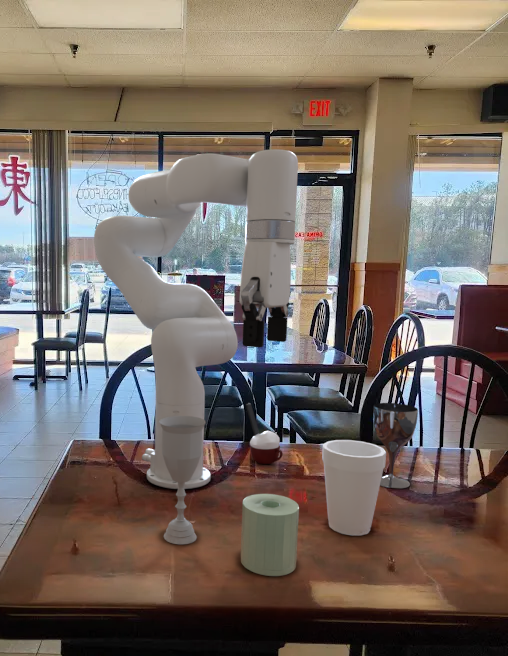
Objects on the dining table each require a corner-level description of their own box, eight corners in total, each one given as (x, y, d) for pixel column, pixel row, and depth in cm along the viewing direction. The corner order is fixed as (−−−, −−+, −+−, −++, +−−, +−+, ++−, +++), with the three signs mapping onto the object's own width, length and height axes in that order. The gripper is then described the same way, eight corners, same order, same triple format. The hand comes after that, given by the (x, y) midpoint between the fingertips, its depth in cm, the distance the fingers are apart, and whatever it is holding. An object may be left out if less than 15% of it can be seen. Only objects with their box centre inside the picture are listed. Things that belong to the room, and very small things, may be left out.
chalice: (188, 552, 82) (190, 430, 80) (148, 540, 86) (150, 423, 84) (210, 533, 88) (214, 419, 86) (173, 522, 92) (175, 413, 90)
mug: (297, 579, 75) (300, 517, 74) (239, 572, 77) (241, 512, 76) (293, 543, 86) (295, 488, 85) (242, 538, 87) (244, 484, 86)
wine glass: (404, 475, 116) (409, 403, 114) (418, 490, 108) (424, 412, 106) (364, 473, 117) (369, 402, 115) (375, 487, 109) (380, 411, 107)
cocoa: (287, 467, 120) (289, 411, 119) (259, 469, 119) (262, 413, 117) (266, 453, 129) (268, 401, 128) (241, 455, 128) (243, 403, 126)
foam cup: (349, 544, 85) (354, 460, 84) (306, 521, 93) (310, 444, 92) (393, 532, 90) (399, 452, 88) (348, 511, 98) (353, 437, 96)
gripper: (268, 238, 98) (264, 337, 100) (223, 230, 83) (219, 347, 86) (311, 237, 94) (305, 341, 96) (271, 229, 79) (266, 351, 82)
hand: (265, 343), depth 91 cm, fingers open, 9 cm apart
